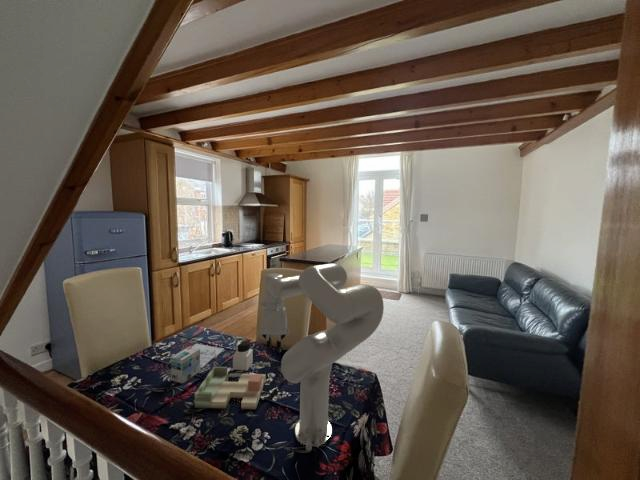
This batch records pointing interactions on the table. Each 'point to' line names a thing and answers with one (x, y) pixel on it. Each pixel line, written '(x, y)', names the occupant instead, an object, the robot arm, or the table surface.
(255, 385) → the block
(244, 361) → the medicine bottle
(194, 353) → the light bulb box
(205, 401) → the trap deck
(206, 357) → the white patterned board
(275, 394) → the table surface
